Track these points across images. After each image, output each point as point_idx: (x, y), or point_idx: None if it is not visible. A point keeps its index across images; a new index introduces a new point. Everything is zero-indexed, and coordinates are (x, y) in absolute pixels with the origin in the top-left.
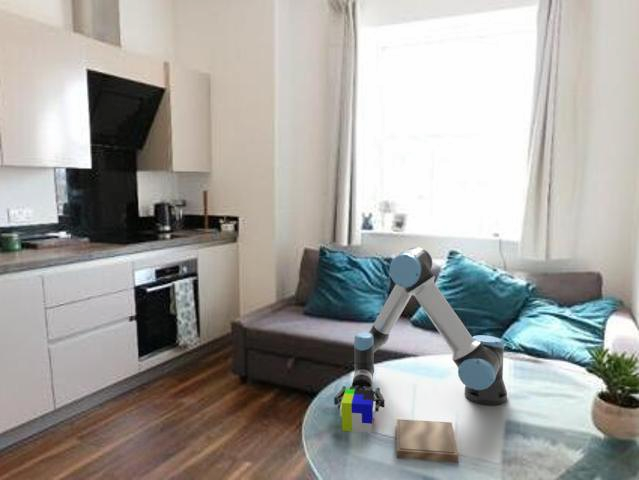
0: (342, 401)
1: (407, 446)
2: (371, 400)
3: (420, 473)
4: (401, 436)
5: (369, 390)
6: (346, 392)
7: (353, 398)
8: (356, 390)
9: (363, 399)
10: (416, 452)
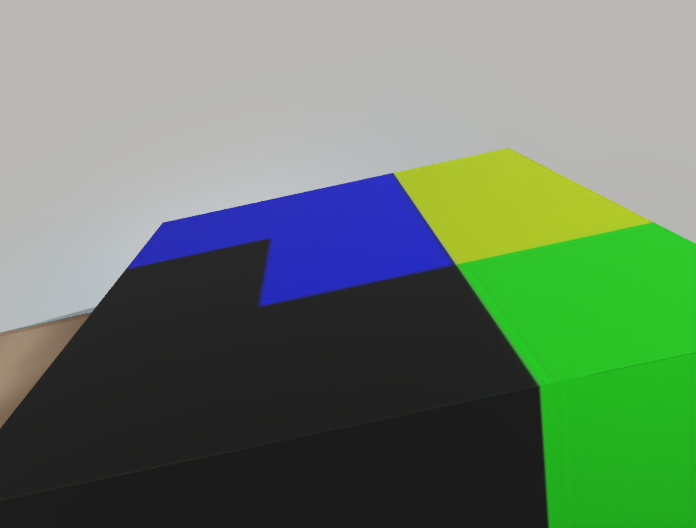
0: (513, 155)
1: (41, 335)
2: (144, 258)
3: (61, 318)
4: (28, 388)
5: (78, 472)
6: (639, 247)
7: (405, 210)
8: (463, 359)
9: (256, 237)
10: (15, 332)
